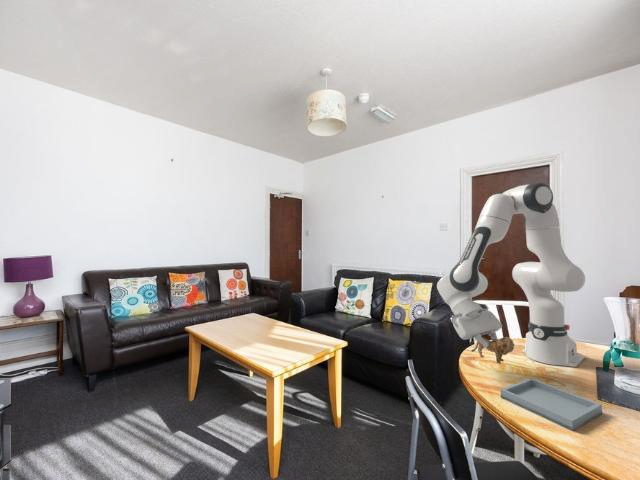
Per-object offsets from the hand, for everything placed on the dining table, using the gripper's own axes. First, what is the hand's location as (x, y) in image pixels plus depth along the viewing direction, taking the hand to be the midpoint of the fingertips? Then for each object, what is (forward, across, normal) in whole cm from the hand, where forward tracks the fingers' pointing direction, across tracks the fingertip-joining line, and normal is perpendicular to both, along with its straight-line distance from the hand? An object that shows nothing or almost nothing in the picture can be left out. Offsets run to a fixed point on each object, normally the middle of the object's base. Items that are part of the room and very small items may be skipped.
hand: (492, 345), depth 104 cm
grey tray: (+21, -5, -6) cm, 23 cm away
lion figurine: (+4, 0, +4) cm, 5 cm away
